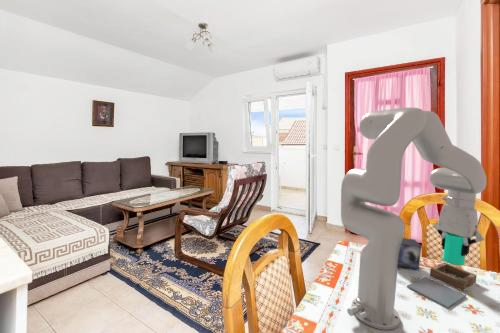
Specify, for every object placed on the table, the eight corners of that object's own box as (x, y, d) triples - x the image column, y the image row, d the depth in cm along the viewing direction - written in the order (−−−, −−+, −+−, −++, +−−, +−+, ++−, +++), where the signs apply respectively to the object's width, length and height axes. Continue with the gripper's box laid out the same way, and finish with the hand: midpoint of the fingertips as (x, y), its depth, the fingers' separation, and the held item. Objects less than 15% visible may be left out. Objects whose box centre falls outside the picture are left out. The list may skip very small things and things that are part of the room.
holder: (462, 290, 82) (463, 282, 81) (429, 275, 91) (430, 268, 90) (475, 282, 86) (476, 275, 86) (443, 269, 95) (443, 262, 95)
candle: (468, 266, 84) (472, 233, 83) (448, 264, 85) (452, 232, 84) (457, 258, 90) (461, 227, 88) (439, 256, 91) (442, 226, 90)
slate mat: (447, 308, 73) (448, 306, 73) (406, 287, 84) (407, 285, 83) (465, 296, 79) (466, 295, 79) (425, 278, 89) (425, 276, 89)
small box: (390, 267, 96) (392, 242, 95) (384, 259, 103) (386, 236, 101) (419, 271, 94) (422, 245, 93) (412, 262, 100) (414, 238, 99)
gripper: (428, 198, 91) (422, 244, 93) (488, 210, 76) (480, 264, 78) (438, 196, 94) (433, 241, 96) (497, 208, 79) (490, 260, 81)
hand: (454, 251), depth 87 cm, fingers closed on candle, 4 cm apart
